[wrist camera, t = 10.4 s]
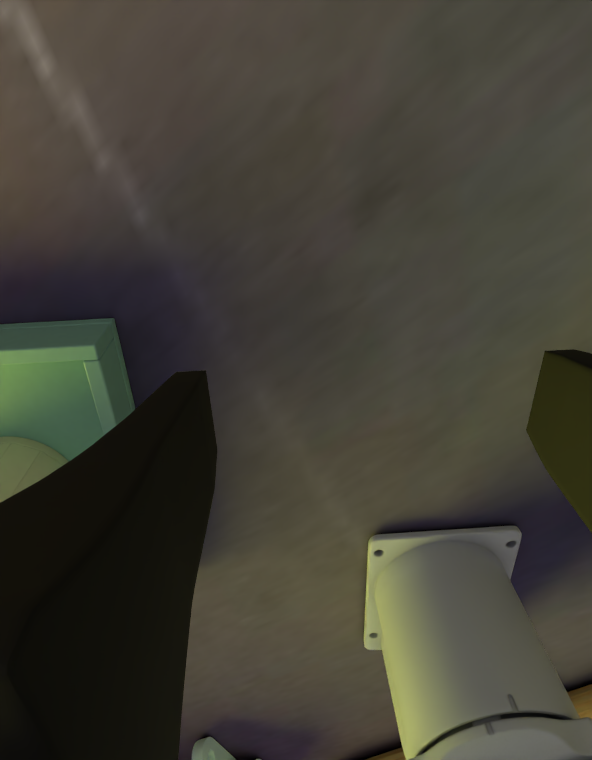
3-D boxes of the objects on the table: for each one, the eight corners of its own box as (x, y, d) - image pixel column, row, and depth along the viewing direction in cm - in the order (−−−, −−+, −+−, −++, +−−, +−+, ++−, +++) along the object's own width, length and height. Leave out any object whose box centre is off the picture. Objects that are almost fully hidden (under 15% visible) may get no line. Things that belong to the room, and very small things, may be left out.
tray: (175, 578, 27) (167, 620, 25) (-34, 592, 26) (-61, 636, 24) (114, 317, 19) (94, 344, 17) (-179, 333, 19) (-236, 363, 17)
